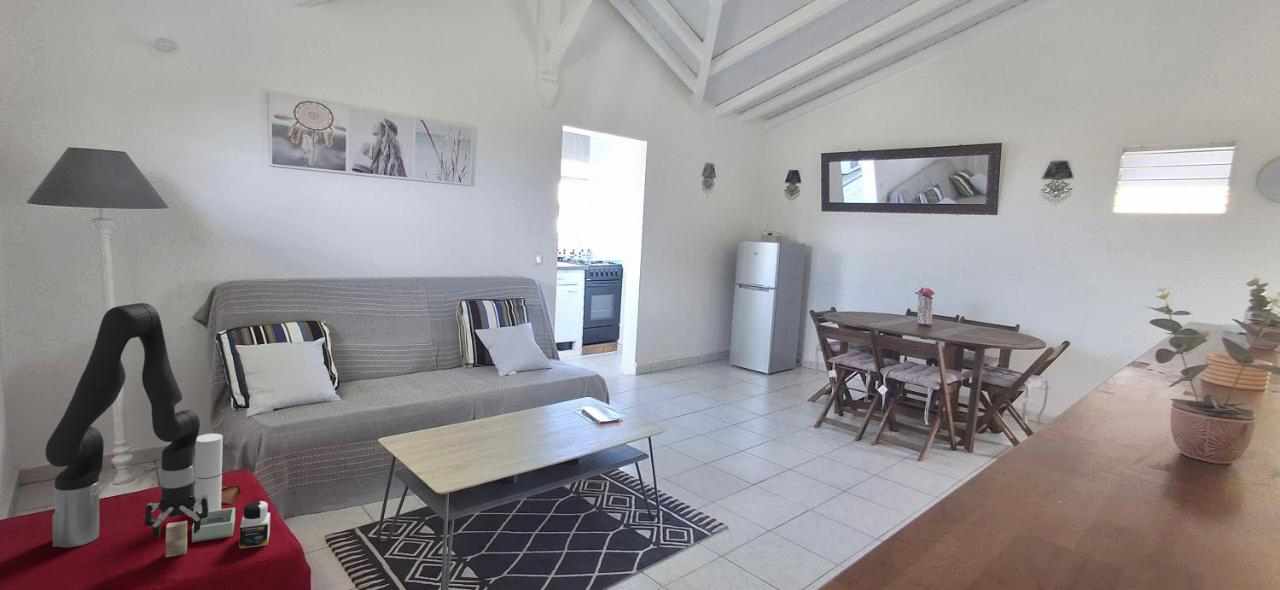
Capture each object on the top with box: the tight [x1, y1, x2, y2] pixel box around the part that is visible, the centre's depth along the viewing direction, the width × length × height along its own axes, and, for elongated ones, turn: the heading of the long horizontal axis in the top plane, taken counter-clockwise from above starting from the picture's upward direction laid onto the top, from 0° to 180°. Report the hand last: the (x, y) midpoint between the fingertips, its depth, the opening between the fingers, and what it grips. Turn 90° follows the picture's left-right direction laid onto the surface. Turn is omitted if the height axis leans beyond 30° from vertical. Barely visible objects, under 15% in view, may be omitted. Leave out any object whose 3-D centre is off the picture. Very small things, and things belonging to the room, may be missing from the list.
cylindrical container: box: [193, 433, 224, 512], centre depth 192 cm, size 7×7×25 cm
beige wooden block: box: [165, 520, 188, 558], centre depth 169 cm, size 4×2×9 cm, turn 121°
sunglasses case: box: [194, 485, 241, 505], centre depth 199 cm, size 18×7×7 cm, turn 112°
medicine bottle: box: [238, 500, 271, 549], centre depth 179 cm, size 7×7×12 cm
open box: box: [191, 507, 236, 543], centre depth 182 cm, size 10×10×4 cm
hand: (177, 534), depth 169 cm, fingers open, 8 cm apart
